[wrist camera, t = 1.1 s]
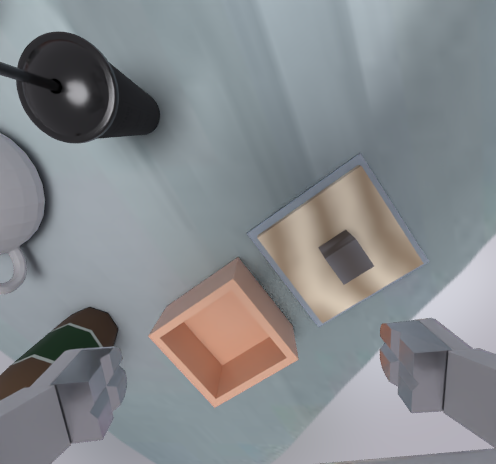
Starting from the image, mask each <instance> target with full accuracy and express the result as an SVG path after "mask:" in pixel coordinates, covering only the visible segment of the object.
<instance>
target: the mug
mask: <svg viewBox="0 0 496 464" xmlns="http://www.w3.org/2000/svg"><path fill="white" fill-rule="evenodd" d="M44 206H45V198H44V191H43V185H42V182H41V180H40V177H39V175H38V172H37V170H36V168H35V166H34V165H33V163H32V162H31V160H30V159H29V157H28V156H27V155H26V153H25V152H24V151H23V150H22V149H21V148H20V147H19V146H18V145H17V144H15V143H14V142H13V141H12V140H11V139H10V138H8V137H6V136H5V135H3V134H1V133H0V255H1V254H4V253H8V254H9V256H10V257H11V259H12V262H13V267H14V273H13V277H12V279H10V280H9V281H8V282H6V283H0V294H7V293H11V292H13V291H14V290H16V289H17V288H18V287H19V286H20V285H21V284H22V283H23V282H24V280H25V278H26V275H27V263H26V260H25V256H24V254H23V252H22V251H21V249H20V245H21V244H23V243H24V242H26V241H27V240H29V239H30V237H31V236H32V235H33V234H34V233H35V232H36V231H37V230H38V227H39V225H40V223H41V221H42V218H43V215H44Z"/></svg>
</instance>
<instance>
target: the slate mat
mask: <svg viewBox="0 0 496 464" xmlns="http://www.w3.org/2000/svg"><path fill="white" fill-rule="evenodd" d="M358 165H361V166H362V167H363V169H364V170H365V172H366V174H367V175H368V177H369V178H370V180H371V181H372V183H373V185H374V186H375V188H376V189H377V191H378V192H379V194H380V196H381V197H382V199H383V200H384V202H385V203H386V205H387V207H388V208H389V210H390V211H391V213H392V214H393V216H394V218H395V219H396V221H397V222H398V224H399V225H400V227H401V229H402V230H403V232H404V233H405V235H406V236H407V238H408V240H409V241H410V243H411V244H412V246H413V247H414V249H415V251H416V252H417V254H418V255H419V257H420V258H421V260H422V262H423V263H424V264H422V265H420V266H419V267H417V268H415V269H414V270H412V271H410V272H409V273H407V274H405V275H404V276H402V277H400V278H399V279H397V280H395V281H393V282H392V283H390V284H388V285H387V286H385V287H383V288H382V289H380V290H378V291H377V292H375V293H373V294H372V295H374V294H376V293H378V292H379V291H381V290H383V289H384V288H386V287H388V286H389V285H391V284H393V283H394V282H396V281H398V280H400V279H401V278H403V277H405V276H406V275H408V274H410V273H411V272H413V271H415V270H416V269H418V268H420V267H422V266H423V265H425V264H427V263H428V262H429V260H428V259H427V257H426V255H425V254H424V252H423V251H422V249H421V247H420V246H419V244H418V243H417V241H416V240H415V238H414V236H413V235H412V233H411V232H410V230H409V228H408V227H407V225H406V224H405V222H404V220H403V219H402V217H401V216H400V214H399V213H398V211H397V209H396V208H395V206H394V205H393V203H392V201H391V200H390V198H389V197H388V195H387V194H386V192H385V190H384V189H383V187H382V186H381V184H380V182H379V181H378V179H377V178H376V176H375V175H374V173H373V171H372V170H371V168H370V167H369V165H368V163H367V162H366V160H365V159H364V157H363V156H362V154H361V153H359V154H358V155H356V156H355V157H353V158H352V159H351V160H349V161H348V162H346V163H345V164H343V165H342V166H341V167H339V168H338V169H336V170H335V171H334V172H332V173H331V174H329V175H328V176H327V177H325V178H324V179H322V180H321V181H319V182H318V183H317V184H315V185H314V186H312V187H311V188H310V189H308V190H307V191H305V192H304V193H303V194H301V195H300V196H298V197H297V198H295V199H294V200H293V201H291V202H290V203H288V204H287V205H286V206H284V207H283V208H281V209H280V210H279V211H277V212H276V213H274V214H273V215H271V216H270V217H269V218H267V219H266V220H264V221H263V222H262V223H260V224H259V225H257V226H256V227H254V228H253V229H252V230H250V231H249V232H247V235H248V236H249V237H250V239H251V240H252V241H253V243H254V244H255V245H256V247H257V248H258V249H259V250H260V252H261V253H262V254H263V256H264V257H265V258H266V260H267V261H268V262H269V263H270V265H271V266H272V267H273V269H274V270H275V271H276V273H277V274H278V275H279V276H280V278H281V279H282V280H283V282H284V283H285V284H286V286H287V287H288V288H289V289H290V291H291V292H292V293H293V295H294V296H295V297H296V299H297V300H298V301H299V303H300V304H301V305H302V306H303V308H304V309H305V310H306V312H307V313H308V314H309V316H310V317H311V318H312V319H313V321H314V322H315V323H316V325H317V326H318V327H320V326H322V325H323V324H325V323H327V322H329V321H330V320H332V319H334V318H335V317H337V316H339V315H340V314H342V313H344V312H345V311H347V310H349V309H351V308H352V307H354V306H356V305H357V304H359V303H361V302H362V301H364V300H366V299H367V298H369V297H371V296H372V295H370V296H368V297H366V298H365V299H363V300H361V301H360V302H358V303H356V304H355V305H353V306H351V307H350V308H348V309H346V310H345V311H343V312H341V313H339V314H338V315H336V316H334V317H333V318H331V319H329V320H328V321H326V322H324V323H323V324H322V322H321V321H320V320H319V318H318V317H317V316H316V314H315V313H314V312H313V311H312V309H311V308H310V307H309V305H308V304H307V303H306V301H305V300H304V299H303V297H302V296H301V295H300V293H299V292H298V291H297V290H296V288H295V287H294V286H293V284H292V283H291V282H290V280H289V279H288V278H287V276H286V275H285V274H284V272H283V271H282V270H281V269H280V267H279V266H278V265H277V263H276V262H275V261H274V259H273V258H272V257H271V255H270V254H269V253H268V251H267V250H266V249H265V248H264V246H263V245H262V244H261V242H260V241H259V240H258V238H257V235H259V234H260V233H262V232H263V231H265V230H266V229H267V228H269V227H270V226H272V225H273V224H275V223H276V222H277V221H279V220H280V219H282V218H283V217H285V216H286V215H287V214H289V213H290V212H292V211H293V210H295V209H296V208H297V207H299V206H300V205H302V204H303V203H305V202H306V201H308V200H309V199H310V198H312V197H313V196H315V195H316V194H318V193H319V192H320V191H322V190H323V189H325V188H326V187H328V186H329V185H330V184H332V183H333V182H335V181H336V180H338V179H339V178H340V177H342V176H343V175H345V174H346V173H348V172H349V171H350V170H352V169H353V168H355V167H356V166H358Z"/></svg>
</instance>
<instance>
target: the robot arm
mask: <svg viewBox="0 0 496 464" xmlns="http://www.w3.org/2000/svg"><path fill="white" fill-rule="evenodd" d="M380 337H381V338H382V339H383V340H384V342H385V343H384V344H383V345H382V347H381V348H380V361H381V365H382V369H383V371H384V373H385V375H386V377H387V379H388V380H389V381H390V382H391V383H393V384H394V385H396V386H398V395H399V396H400V398H401V399H402V400H403V402H404V403H405V405H406V406H407V408H408V409H409V410H410V412H411V413H421V412H438V411H444V413H445V414H446V415H448V416H449V417H450V418H452V419H453V420H455V421H456V422H458V423H459V424H461V425H462V426H464V427H465V428H467V429H468V430H470V431H471V432H473V433H474V434H475V435H477V436H478V437H480V438H481V439H483V440H484V441H486V442H487V443H489V444H490V445H492V446H493V447H495V448H494V449H483V450H472V451H461V452H450V453H438V454H427V455H415V456H404V457H391V458H381V459H380V458H379V459H368V460H356V461H344V462H332V463H321V464H496V354H494V353H491V352H488V351H485V350H482V349H480V348H476V349H473V348H472V347H470V346H469V345H468V344H466V343H465V342H464V341H463V340H461V339H460V338H459V337H458V336H456V335H455V334H454V333H453V332H451V331H450V330H449V329H447V328H446V327H445V326H444V325H442V324H441V323H440V322H438V321H437V320H436V319H433V318H426V319H418V320H411V321H402V322H393V323H384V324H382V325H381V328H380ZM122 359H123V358H122V354H121V350H120V348H118V347H117V346H113V347H98V348H85V349H84V348H81V349H72V350H67V351H65V352H64V353H63V354H62V355H61V356H60V357H59V358H58V359H57V360H56V361H55V362H54V363H53V364H52V365H51V366H50V367H49V368H48V369H47V370H46V371H45V372H44V373H43V374H42V375H41V376H40V377H39V378H38V379H37V380H36V381H35V382H34V383H33V384H32V385H31V386H30V387H28V388H23V389H21V390H19V391H17V392H15V393H13V394H12V395H10V396H8V397H6V398H4V399H2V400H0V464H51V463H52V462H53V461H54V460H55V459H57V458H58V457H59V456H60V455H61V454H62V453H63V452H64V451H65V450H66V449H67V448H68V447H69V446H70V444H71V443H80V442H88V441H97V440H103V438H104V436H105V434H106V432H107V431H108V429H109V427H110V425H111V423H112V421H113V419H114V417H113V413H112V412H113V411H114V410H115V409H117V408H118V407H119V406H120V405H121V403H122V401H123V399H124V397H125V393H126V388H127V377H126V372H125V370H124V369H123V368H121V367H120V366H119V364H120V363H121V361H122Z"/></svg>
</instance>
